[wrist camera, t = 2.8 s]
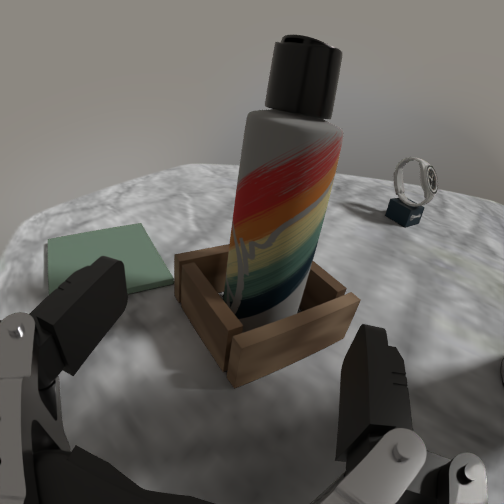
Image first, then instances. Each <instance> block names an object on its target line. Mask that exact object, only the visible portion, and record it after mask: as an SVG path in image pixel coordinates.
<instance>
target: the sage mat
mask: <svg viewBox="0 0 504 504" xmlns="http://www.w3.org/2000/svg"><path fill="white" fill-rule="evenodd" d="M101 256H107V257H110V258H113V259H117V260H120V261H122V262H123V263H124V267H125V277H126V286H127V294H130V293H135V292H139V291H144V290H148V289H153V288H157V287H162V286H166V285H171V284H174V278H173V276H172V275H171V273H170V271H169V270H168V268H167V267H166V265H165V263H164V262H163V260H162V258H161V257H160V255H159V253H158V251H157V250H156V248H155V246H154V245H153V243H152V241H151V240H150V238H149V236H148V234H147V233H146V231H145V229H144V227H143V226H142V224H141V223H138V224H132V225H126V226H120V227H114V228H108V229H102V230H96V231H90V232H85V233H79V234H74V235H68V236H63V237H57V238H52V239H48V285H49V295H50V294H51V293H52V292H53V291H54V290H55V289H58V286H59V285H60V284H62V283H63V282H65V280H66V279H67V278H68V277H69V276H70V275H72V274H73V273H74V272H75V271H77V270H79V269H81V268H83V267H85V266H90V265H91V264H92V263H94V262H95V261H96V260H97V259H98V258H99V257H101Z"/></svg>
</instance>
